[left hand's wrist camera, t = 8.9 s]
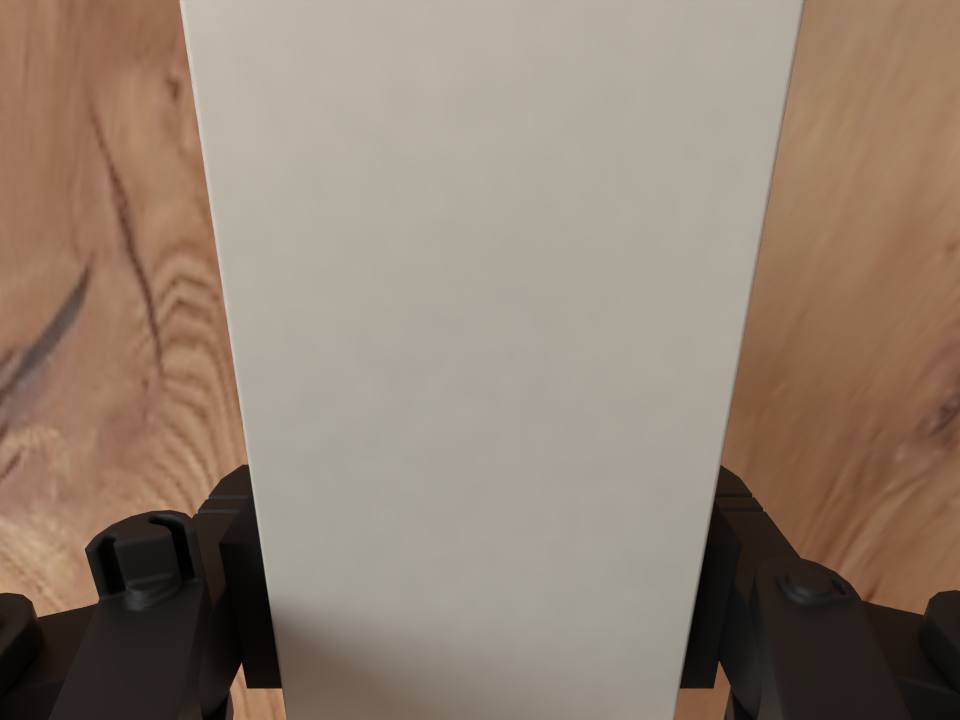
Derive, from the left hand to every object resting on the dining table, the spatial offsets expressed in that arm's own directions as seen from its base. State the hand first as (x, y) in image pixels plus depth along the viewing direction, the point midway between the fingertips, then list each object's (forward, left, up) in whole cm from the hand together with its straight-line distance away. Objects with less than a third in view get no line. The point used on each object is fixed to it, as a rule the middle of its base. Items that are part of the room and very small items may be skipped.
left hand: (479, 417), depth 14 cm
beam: (+3, +30, -1) cm, 30 cm away
